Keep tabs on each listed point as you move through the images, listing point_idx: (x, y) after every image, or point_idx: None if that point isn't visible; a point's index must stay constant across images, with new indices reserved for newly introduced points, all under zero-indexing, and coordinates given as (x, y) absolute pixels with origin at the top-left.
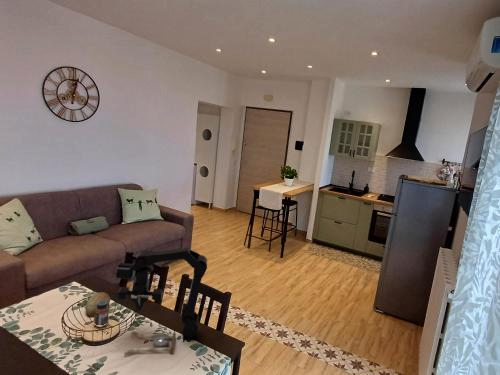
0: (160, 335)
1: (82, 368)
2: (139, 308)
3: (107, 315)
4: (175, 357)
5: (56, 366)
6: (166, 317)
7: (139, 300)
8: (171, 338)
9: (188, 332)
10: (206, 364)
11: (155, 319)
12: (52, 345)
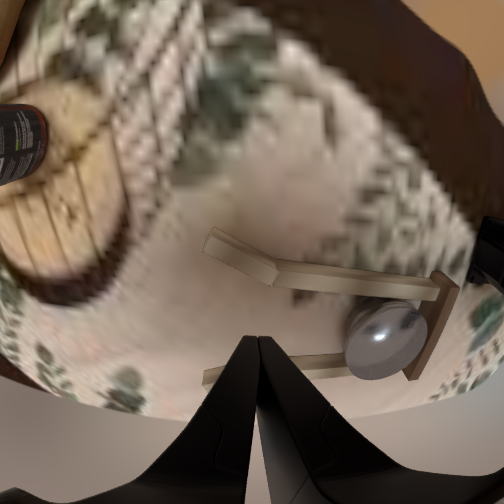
0: (390, 327)
1: (89, 400)
2: (260, 419)
3: (4, 155)
4: None
5: (25, 376)
6: (417, 67)
7: (248, 468)
8: (430, 299)
9: (501, 291)
10: (470, 377)
11: (354, 72)
12: None
